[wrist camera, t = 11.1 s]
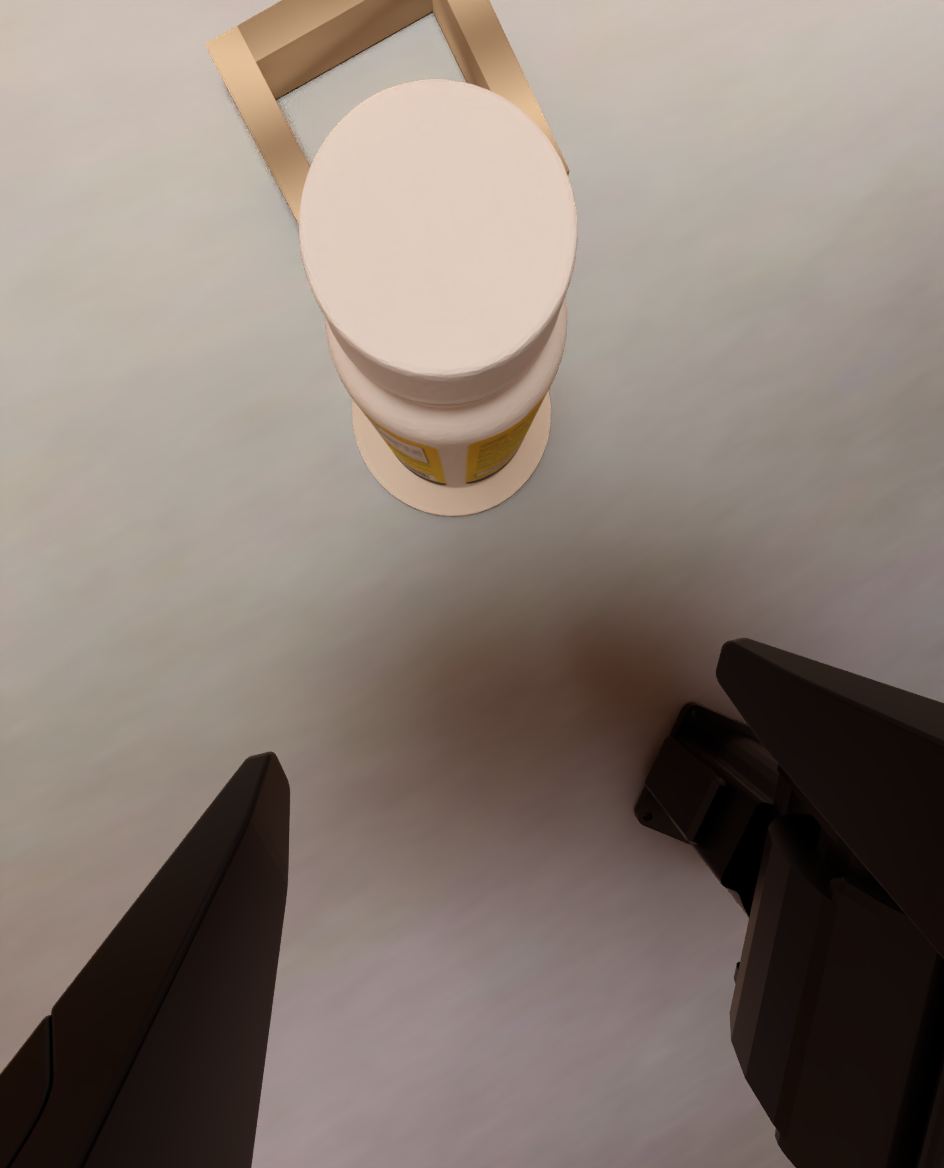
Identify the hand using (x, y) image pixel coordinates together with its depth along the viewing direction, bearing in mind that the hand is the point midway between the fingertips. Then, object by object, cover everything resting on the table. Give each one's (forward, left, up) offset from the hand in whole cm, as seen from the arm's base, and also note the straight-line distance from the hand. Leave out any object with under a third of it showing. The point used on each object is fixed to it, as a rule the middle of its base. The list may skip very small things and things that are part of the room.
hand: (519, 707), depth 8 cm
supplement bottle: (+5, -8, -12) cm, 15 cm away
